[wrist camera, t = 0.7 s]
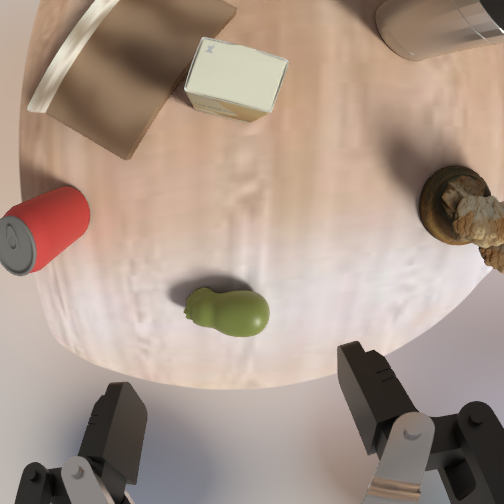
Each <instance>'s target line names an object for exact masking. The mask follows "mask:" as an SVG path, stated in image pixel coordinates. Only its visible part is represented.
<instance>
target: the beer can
mask: <svg viewBox="0 0 504 504" xmlns="http://www.w3.org/2000/svg"><path fill="white" fill-rule="evenodd" d="M89 221H90V210H89V206H88V202H87V201H86V199H85V197H84V196H83V195H82V194H81V193H80V192H79V191H78V190H77V189H75V188H72V187H67V186H63V187H60V188H58V189H55V190H52V191H50V192H47V193H44V194H42V195H39V196H37V197H35V198H32V199H30V200H27V201H25V202H23V203H20V204H18V205H16V206H13V207H12V208H11V209H10V210H9V211H8V212H7V213H6V214H5V215H4V216H3V218H1V219H0V262H1V264H2V265H3V266H4V267H5V269H6V270H7V271H9V272H10V273H12V274H14V275H17V276H23V275H27V274H28V273H32V272H36V271H39V270H41V269H42V268H43V267H44V266H46V265H47V264H48V263H49V262H50V261H51V260H53V259H54V258H55V257H56V256H57V255H59V254H60V253H61V252H62V251H63V250H65V249H66V248H67V247H68V246H69V245H71V244H72V243H73V242H74V241H76V240H77V239H78V238H79V237H81V236H82V235H83V234H84V233H85V231H86V230H87V228H88V225H89Z"/></svg>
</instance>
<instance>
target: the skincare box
mask: <svg viewBox="0 0 504 504" xmlns="http://www.w3.org/2000/svg"><path fill="white" fill-rule="evenodd" d="M288 64H289V62H288V60H286V59H284V58H281V57H278V56H275V55H272V54H269V53H266V52H263V51H259V50H256V49H253V48H249V47H246V46H242V45H238V44H233V43H229V42H225V41H221V40H216V39H211V38H207V37H202V39H201V41H200V44H199V46H198V48H197V51H196V53H195V56H194V59H193V61H192V64H191V67H190V70H189V73H188V76H187V79H186V83H185V86H184V91H185V92H186V94H187V96H188V98H189V100H190V102H191V103H192V105H193V107H194V109H195V110H198V111H201V112H205V113H208V114H212V115H216V116H220V117H223V118H228V119H232V120H236V121H240V122H244V123H248V124H249V123H251V122H253V121H255V120H257V119H259V118H261V117H263V116H265V115H267V114H269V113H271V112H272V109H273V107H274V104H275V101H276V98H277V96H278V93H279V91H280V88H281V85H282V82H283V79H284V76H285V73H286V70H287V67H288Z"/></svg>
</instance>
